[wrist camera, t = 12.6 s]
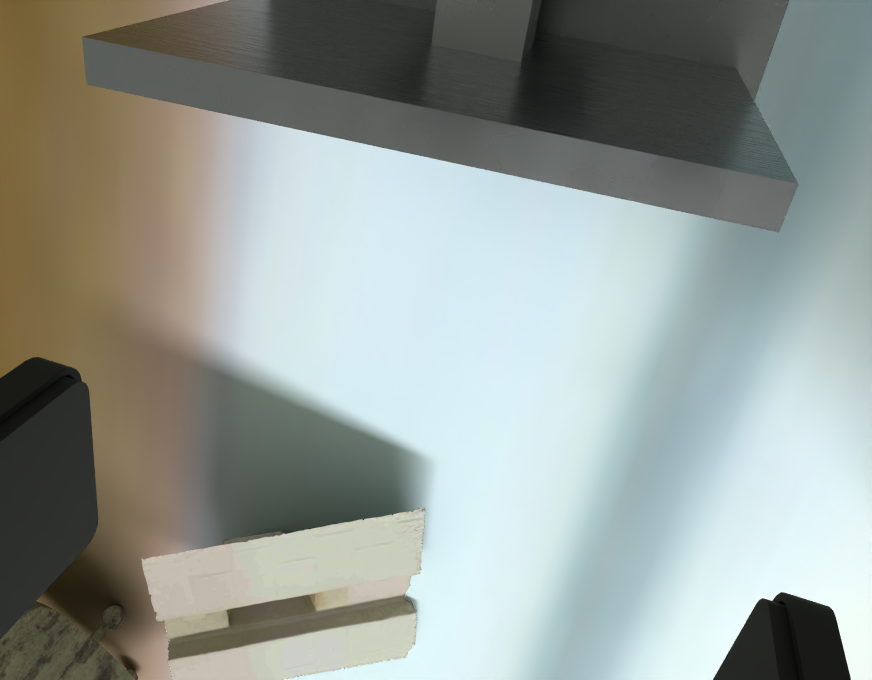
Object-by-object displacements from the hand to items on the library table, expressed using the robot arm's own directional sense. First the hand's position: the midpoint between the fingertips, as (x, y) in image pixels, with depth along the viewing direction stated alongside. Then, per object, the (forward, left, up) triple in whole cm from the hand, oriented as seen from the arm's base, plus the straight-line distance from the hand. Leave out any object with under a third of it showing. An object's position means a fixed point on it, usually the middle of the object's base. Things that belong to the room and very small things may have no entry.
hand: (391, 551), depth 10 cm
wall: (-8, +31, -27) cm, 41 cm away
